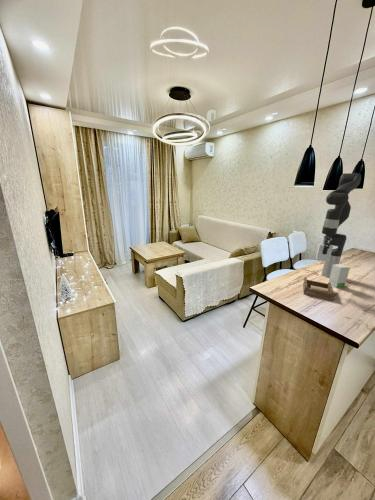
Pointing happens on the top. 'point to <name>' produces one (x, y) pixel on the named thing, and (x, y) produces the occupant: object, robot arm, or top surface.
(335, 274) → the skincare box
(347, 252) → the top surface
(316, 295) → the rack
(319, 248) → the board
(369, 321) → the top surface
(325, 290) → the offcut upper
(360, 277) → the top surface
